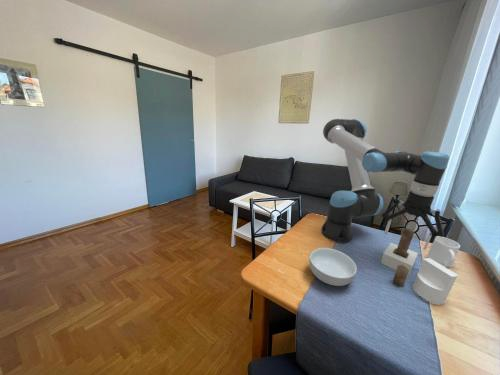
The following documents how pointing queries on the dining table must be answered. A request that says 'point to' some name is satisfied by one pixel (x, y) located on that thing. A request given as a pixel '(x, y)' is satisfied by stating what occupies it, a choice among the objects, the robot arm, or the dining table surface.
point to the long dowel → (404, 242)
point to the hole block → (398, 258)
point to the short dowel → (400, 276)
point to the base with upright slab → (434, 281)
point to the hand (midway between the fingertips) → (404, 240)
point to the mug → (443, 251)
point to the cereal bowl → (332, 266)
